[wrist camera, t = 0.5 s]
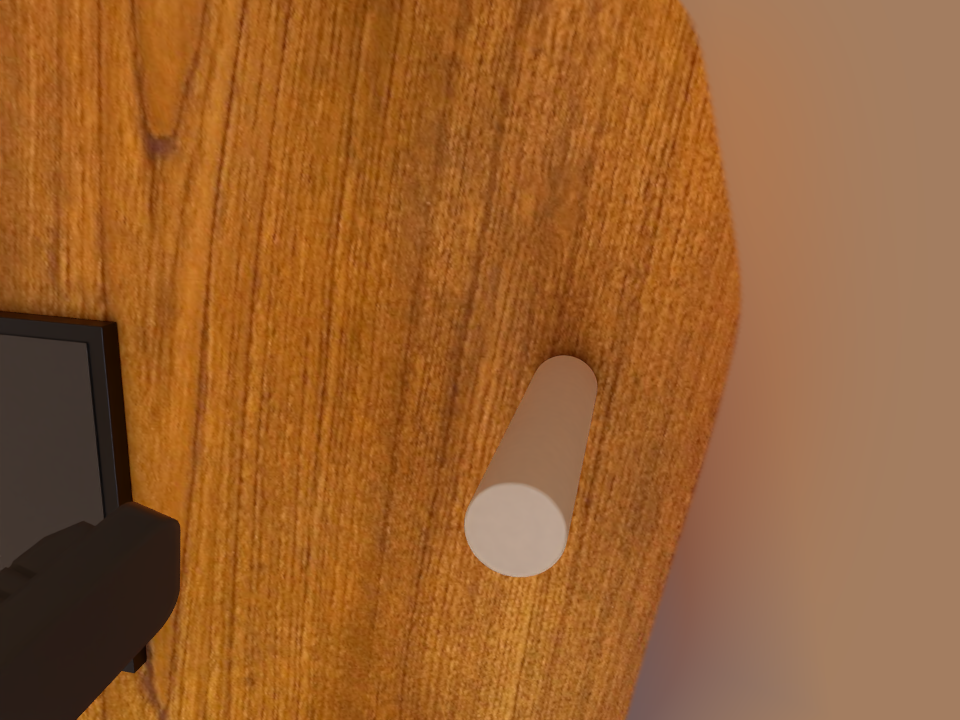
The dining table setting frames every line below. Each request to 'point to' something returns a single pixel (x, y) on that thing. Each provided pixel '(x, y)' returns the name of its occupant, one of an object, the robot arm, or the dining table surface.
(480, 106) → the dining table surface
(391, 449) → the dining table surface
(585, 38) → the dining table surface
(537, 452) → the white cylindrical rod
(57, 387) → the tablet
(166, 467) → the dining table surface
